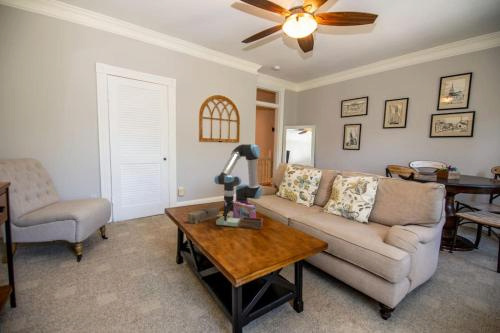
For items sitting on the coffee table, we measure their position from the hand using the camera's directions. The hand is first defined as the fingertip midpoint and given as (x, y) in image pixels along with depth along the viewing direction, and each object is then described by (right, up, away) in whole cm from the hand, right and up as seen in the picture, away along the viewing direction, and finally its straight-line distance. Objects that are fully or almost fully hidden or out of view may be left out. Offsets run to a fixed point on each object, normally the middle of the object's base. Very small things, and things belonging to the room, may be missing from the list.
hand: (228, 221), depth 179 cm
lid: (0, -1, 0) cm, 1 cm away
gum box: (+11, -1, +15) cm, 19 cm away
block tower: (-21, -1, +13) cm, 25 cm away
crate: (+18, -3, -4) cm, 19 cm away
